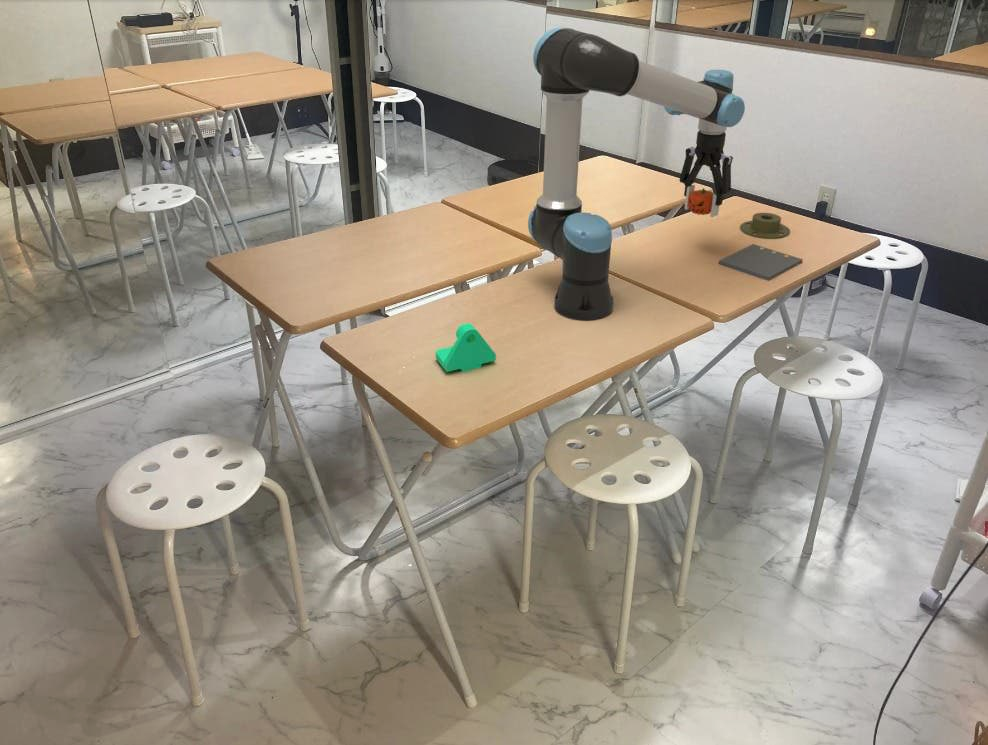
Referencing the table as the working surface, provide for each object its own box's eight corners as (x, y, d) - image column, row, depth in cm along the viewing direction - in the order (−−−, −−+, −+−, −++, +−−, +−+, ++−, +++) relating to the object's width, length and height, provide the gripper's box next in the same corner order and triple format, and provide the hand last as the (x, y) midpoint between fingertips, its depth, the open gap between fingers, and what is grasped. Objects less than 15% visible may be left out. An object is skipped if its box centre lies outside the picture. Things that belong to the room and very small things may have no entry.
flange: (775, 229, 239) (801, 217, 248) (732, 217, 249) (758, 205, 258) (773, 244, 242) (798, 231, 250) (730, 231, 251) (756, 219, 260)
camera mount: (482, 349, 187) (482, 310, 182) (495, 364, 181) (495, 324, 176) (434, 360, 183) (432, 320, 178) (446, 376, 177) (444, 335, 172)
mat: (768, 280, 218) (769, 275, 218) (718, 263, 228) (719, 259, 228) (802, 262, 229) (802, 257, 228) (752, 247, 239) (753, 242, 238)
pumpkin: (696, 206, 232) (699, 181, 228) (720, 213, 227) (723, 188, 223) (681, 212, 227) (684, 187, 224) (704, 219, 222) (708, 194, 219)
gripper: (753, 135, 211) (740, 217, 223) (687, 121, 224) (678, 200, 236) (738, 141, 206) (725, 224, 218) (671, 126, 220) (663, 206, 231)
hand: (701, 211), depth 227 cm, fingers closed on pumpkin, 8 cm apart
